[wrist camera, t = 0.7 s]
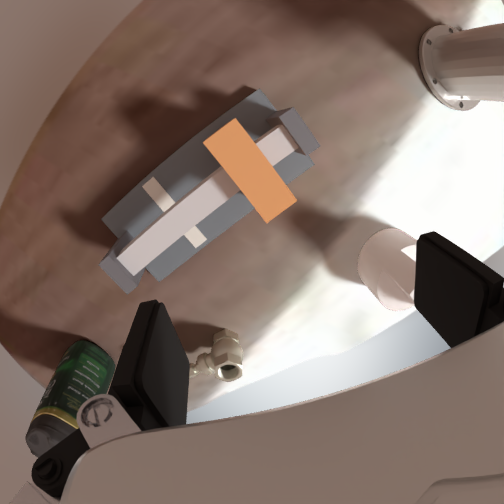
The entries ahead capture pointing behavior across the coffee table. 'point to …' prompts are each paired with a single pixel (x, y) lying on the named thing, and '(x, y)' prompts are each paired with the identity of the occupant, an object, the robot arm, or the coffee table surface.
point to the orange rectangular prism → (250, 170)
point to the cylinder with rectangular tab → (389, 268)
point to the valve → (221, 358)
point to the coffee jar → (69, 394)
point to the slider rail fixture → (198, 194)
